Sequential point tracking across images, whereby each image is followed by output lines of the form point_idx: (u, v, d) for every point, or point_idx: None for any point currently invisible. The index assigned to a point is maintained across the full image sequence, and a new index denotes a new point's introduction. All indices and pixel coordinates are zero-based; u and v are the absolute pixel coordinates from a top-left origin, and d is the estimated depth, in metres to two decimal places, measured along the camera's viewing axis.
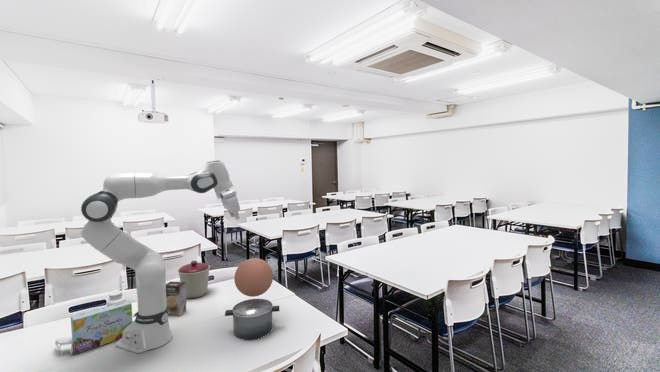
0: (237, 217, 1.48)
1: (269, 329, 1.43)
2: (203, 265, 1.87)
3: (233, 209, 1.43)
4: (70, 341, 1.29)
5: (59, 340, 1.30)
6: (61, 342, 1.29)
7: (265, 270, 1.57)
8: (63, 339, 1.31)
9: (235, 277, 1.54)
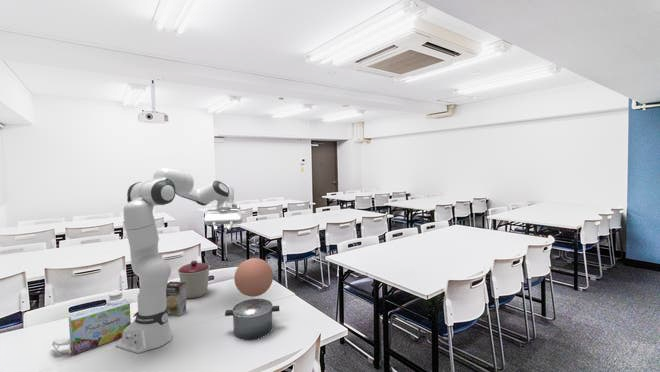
0: (230, 227, 1.67)
1: (269, 329, 1.43)
2: (203, 265, 1.87)
3: (241, 218, 1.71)
4: (68, 341, 1.29)
5: (57, 341, 1.30)
6: (59, 343, 1.28)
7: (265, 270, 1.57)
8: (60, 340, 1.30)
9: (235, 277, 1.54)
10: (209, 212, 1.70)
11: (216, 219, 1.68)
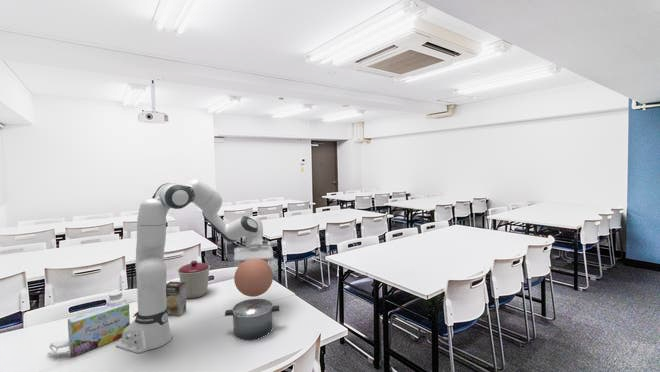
0: None
1: (269, 329, 1.43)
2: (203, 265, 1.87)
3: None
4: (67, 344, 1.27)
5: (55, 343, 1.28)
6: (58, 345, 1.26)
7: (265, 270, 1.56)
8: (58, 342, 1.28)
9: (235, 277, 1.54)
10: (239, 249, 1.62)
11: (247, 257, 1.59)
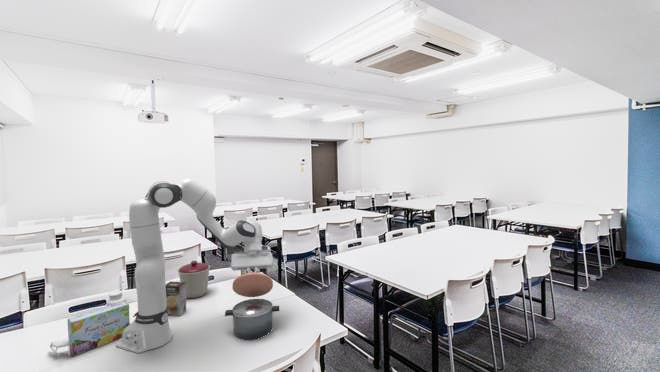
0: None
1: (269, 329, 1.43)
2: (203, 265, 1.87)
3: None
4: (67, 343, 1.28)
5: (55, 343, 1.28)
6: (57, 345, 1.27)
7: (264, 281, 1.48)
8: (58, 342, 1.29)
9: (233, 287, 1.47)
10: (236, 255, 1.51)
11: (245, 264, 1.49)
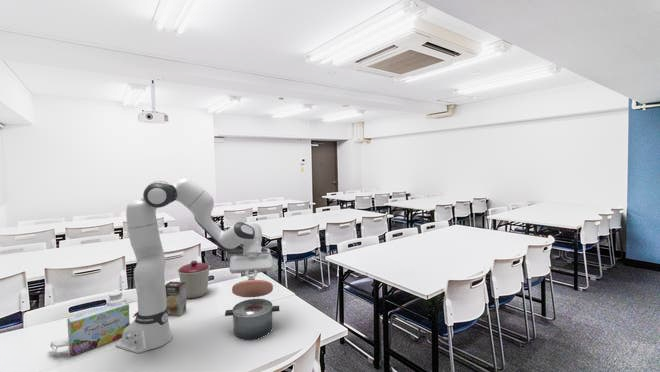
0: (254, 277, 1.43)
1: (269, 329, 1.43)
2: (203, 265, 1.87)
3: None
4: (67, 343, 1.28)
5: (55, 342, 1.29)
6: (57, 344, 1.27)
7: (264, 286, 1.46)
8: (58, 341, 1.29)
9: (233, 291, 1.46)
10: (235, 258, 1.46)
11: (244, 267, 1.44)
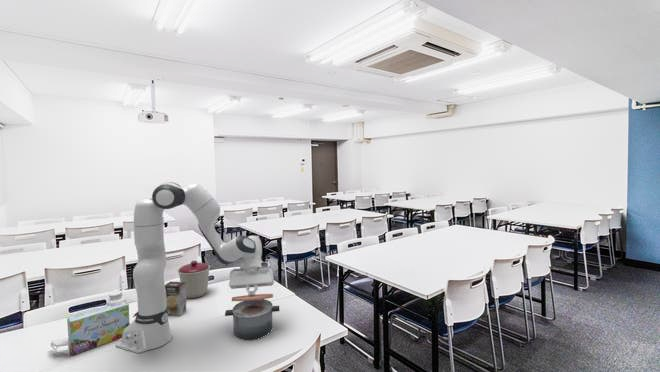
0: (254, 293, 1.41)
1: (269, 329, 1.43)
2: (203, 265, 1.87)
3: (273, 279, 1.45)
4: (66, 342, 1.28)
5: (55, 342, 1.29)
6: (57, 344, 1.28)
7: None
8: (58, 341, 1.30)
9: None
10: (235, 273, 1.44)
11: (244, 282, 1.42)
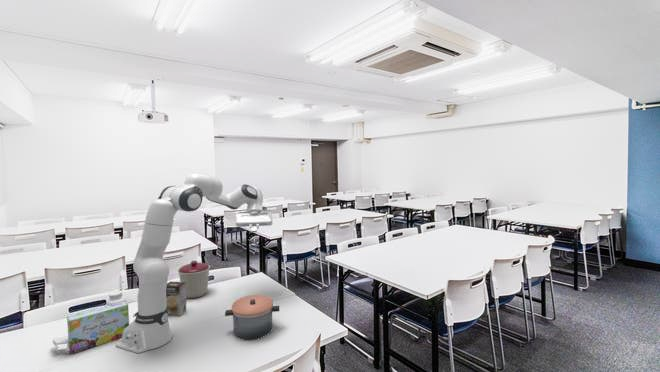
0: (256, 230, 1.71)
1: (269, 329, 1.43)
2: (203, 265, 1.87)
3: None
4: (66, 341, 1.29)
5: (56, 339, 1.31)
6: (57, 342, 1.29)
7: None
8: (59, 339, 1.31)
9: None
10: (240, 214, 1.75)
11: (248, 221, 1.72)
